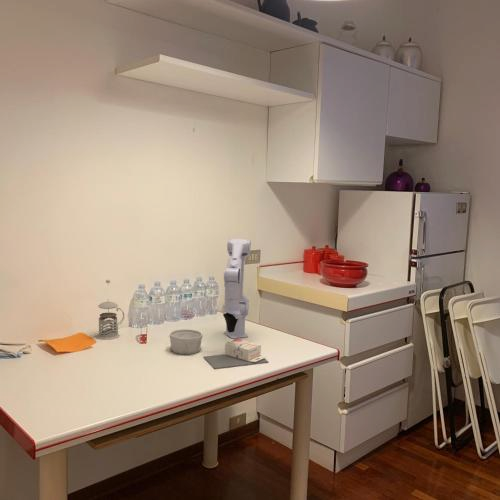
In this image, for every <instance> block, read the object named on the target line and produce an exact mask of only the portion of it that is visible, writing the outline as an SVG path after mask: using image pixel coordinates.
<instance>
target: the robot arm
mask: <svg viewBox="0 0 500 500" xmlns="http://www.w3.org/2000/svg"><path fill="white" fill-rule="evenodd" d="M226 244H227V246H226V248H227V249H226V250H227V253H228V256H230V257H229V258H228V260H227V266H226V268H224V272H223V281H224V285H223V286H224V304H223V305H222V309H221V312H222V316H223V318H224V321H225V325H226V329H225V331H223V333H224V334H225V335H226V336H228V337H229V338H231V339H242V338H248V337H249V336H248V335H247V334H246V333H245V332H246V331H245V330H246V329H245V328H246V317H247V316H248V315H249V311H250V310H249V309H250V303H249V298H248V297H247V296H246V295H244V294H243V293H244V276H245V273H244V272H245V260H246V258H249V257H250V255H251V244H252V242H251V239H250V238H248V239H247V238H231V237H229V238H228V239H227V243H226Z"/></svg>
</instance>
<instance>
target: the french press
mask: <svg viewBox="0 0 500 500" xmlns="http://www.w3.org/2000/svg"><path fill="white" fill-rule="evenodd" d="M105 283H106V284H111V280H110V279H106V280H105ZM98 308H99V309H103V310H111V309H116V312H119V311H121V312H122V315H125V313H124V311H123V310H122V309H121V308H120V307H119V306H118V303H116V302H114V301H109V300H107V301H105V302H101V303H100V304H98ZM117 315H118V314H117V313H115V312H102V313H100V314H99V317H98V334H97V335H96V336H95V337H96V339H98V340H101V341H113V340H116V339H119V338H120V334H119V325H121V324H122V323H123V322H124V320H125V316H122V318H121V320H120V321H119V322H118V316H117Z"/></svg>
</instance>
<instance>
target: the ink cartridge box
mask: <svg viewBox="0 0 500 500" xmlns="http://www.w3.org/2000/svg"><path fill="white" fill-rule="evenodd" d="M261 348H262V345H261V344H260V343H255V342H252V341H249V340H243V339H242V338H235V339H234V340H230V341H227V342H225V343H224V354H225V355H228V356H232V357H235V358H239V359H242V360H246V361H250V362H257V361H259V360H262V359H264V358H265V359H266V358H267V356H263V355H261V350H262V349H261ZM260 355H261V356H260ZM259 358H260V359H259ZM256 359H257V360H256Z"/></svg>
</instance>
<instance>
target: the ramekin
mask: <svg viewBox="0 0 500 500" xmlns="http://www.w3.org/2000/svg"><path fill="white" fill-rule="evenodd" d="M169 340H170V348H171V351H172V352H174V353H175V354H179V355H194V354H196V353H199V351H200V350H201V346H202V340H203V332H201V331H200V330H195V329H191V328H190V329H189V328H187V329H186V328H183V329H182V328H181V329H175V330H172V331H170V332H169Z"/></svg>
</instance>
